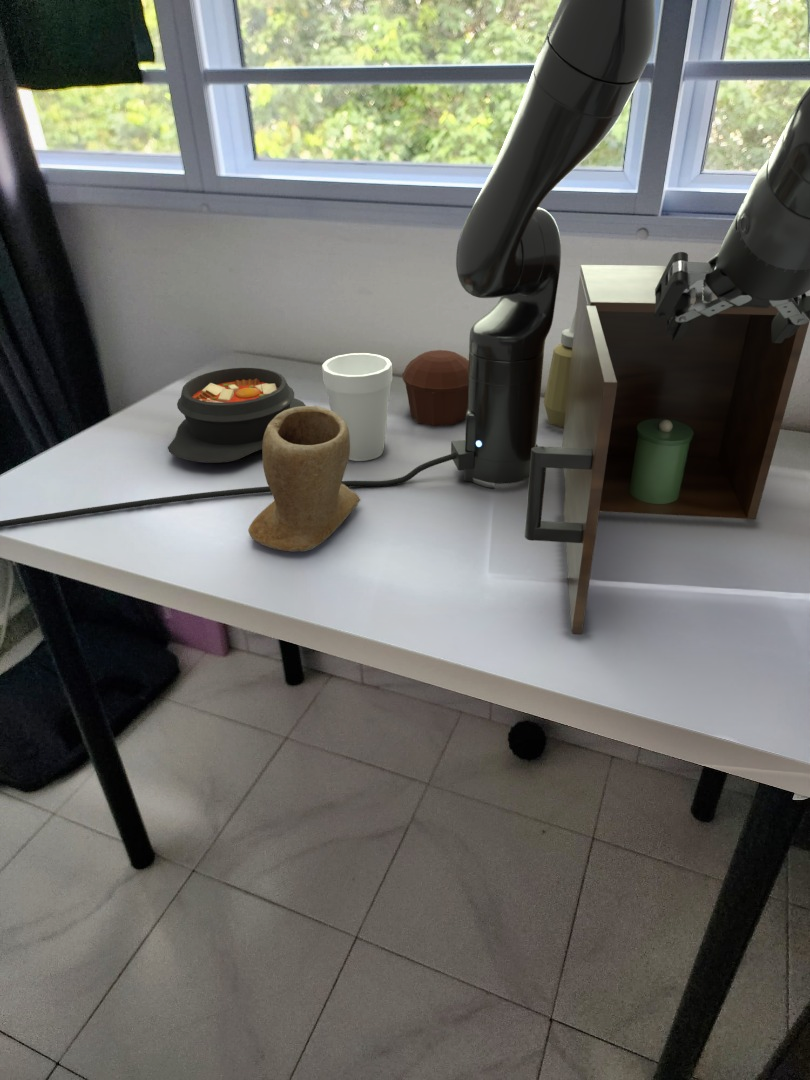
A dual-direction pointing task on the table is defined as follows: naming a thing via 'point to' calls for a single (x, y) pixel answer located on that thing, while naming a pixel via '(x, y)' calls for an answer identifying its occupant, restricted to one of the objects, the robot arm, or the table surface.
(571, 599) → the cupboard door
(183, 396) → the casserole
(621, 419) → the cupboard
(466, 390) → the muffin
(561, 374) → the squeeze bottle
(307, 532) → the stone cup
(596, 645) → the table surface
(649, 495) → the pot
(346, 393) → the foam cup
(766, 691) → the table surface
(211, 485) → the table surface
